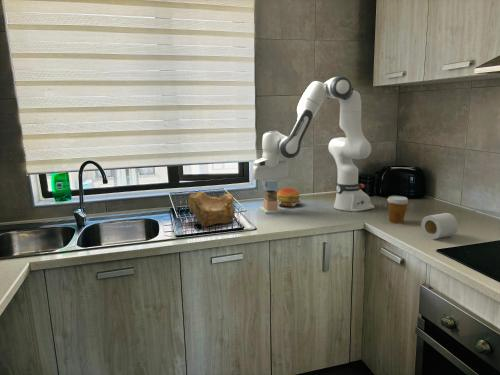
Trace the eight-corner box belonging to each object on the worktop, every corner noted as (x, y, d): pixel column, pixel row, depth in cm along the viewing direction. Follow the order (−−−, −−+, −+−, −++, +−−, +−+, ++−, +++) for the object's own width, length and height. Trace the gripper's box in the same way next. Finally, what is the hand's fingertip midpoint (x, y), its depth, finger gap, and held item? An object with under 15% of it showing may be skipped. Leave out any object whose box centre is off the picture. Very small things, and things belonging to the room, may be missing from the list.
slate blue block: (273, 189, 203) (272, 180, 203) (277, 190, 198) (277, 180, 197) (264, 190, 202) (264, 181, 201) (269, 190, 196) (268, 181, 196)
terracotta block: (273, 206, 206) (273, 198, 205) (277, 209, 201) (277, 200, 200) (263, 207, 205) (263, 199, 203) (267, 210, 199) (267, 201, 198)
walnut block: (272, 198, 205) (272, 189, 204) (276, 200, 200) (276, 191, 199) (264, 199, 204) (264, 190, 203) (268, 201, 198) (268, 192, 197)
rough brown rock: (185, 231, 174) (184, 201, 169) (189, 217, 189) (188, 190, 185) (234, 231, 175) (234, 201, 170) (234, 218, 190) (234, 190, 186)
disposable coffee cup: (410, 221, 180) (412, 197, 178) (401, 225, 174) (403, 201, 171) (391, 217, 187) (393, 194, 184) (382, 221, 181) (383, 197, 178)
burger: (273, 203, 218) (273, 187, 216) (293, 201, 223) (294, 185, 220) (282, 209, 206) (282, 191, 204) (304, 206, 210) (304, 189, 208)
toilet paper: (436, 231, 165) (439, 210, 163) (456, 238, 156) (459, 216, 154) (420, 235, 161) (422, 213, 159) (439, 242, 152) (441, 219, 150)
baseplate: (275, 207, 209) (275, 205, 209) (282, 211, 200) (282, 210, 200) (258, 209, 206) (258, 207, 206) (265, 213, 197) (265, 212, 196)
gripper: (285, 159, 203) (285, 183, 206) (250, 161, 197) (251, 186, 200) (290, 160, 197) (290, 186, 200) (254, 163, 191) (255, 189, 194)
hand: (270, 186), depth 200 cm, fingers closed on slate blue block, 5 cm apart
